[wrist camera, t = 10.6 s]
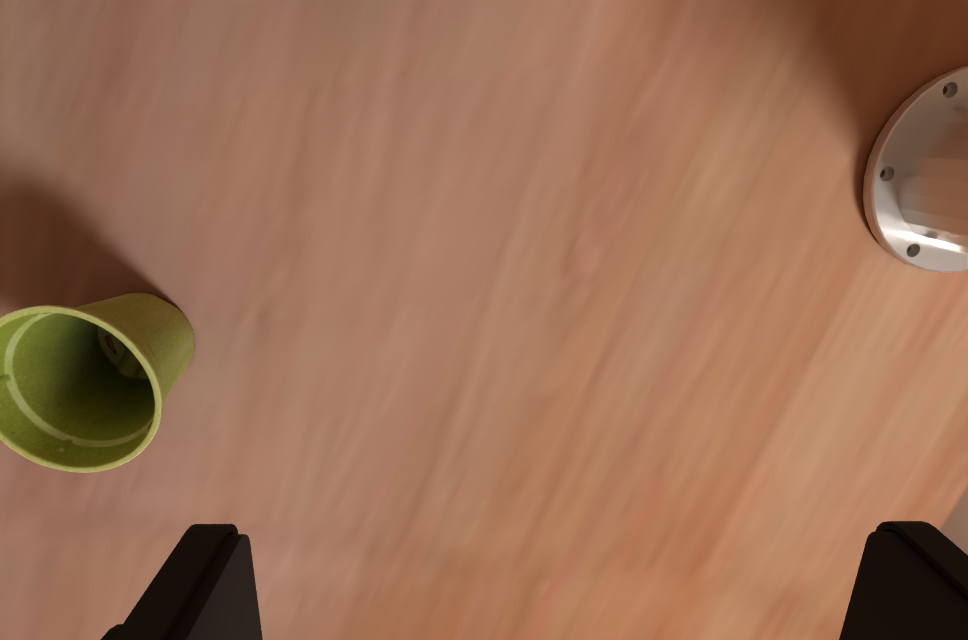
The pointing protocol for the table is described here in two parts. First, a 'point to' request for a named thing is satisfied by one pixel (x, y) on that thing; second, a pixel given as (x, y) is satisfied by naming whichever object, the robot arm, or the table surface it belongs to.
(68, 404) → the plant pot
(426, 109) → the table surface
